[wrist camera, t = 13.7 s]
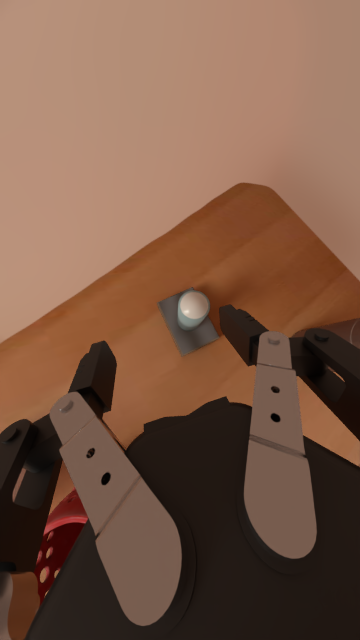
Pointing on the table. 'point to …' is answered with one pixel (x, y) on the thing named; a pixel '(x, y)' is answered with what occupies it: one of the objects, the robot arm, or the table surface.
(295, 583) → the robot arm
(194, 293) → the ceramic tumbler
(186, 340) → the dark grey slab
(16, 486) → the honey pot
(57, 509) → the plant pot
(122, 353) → the table surface
